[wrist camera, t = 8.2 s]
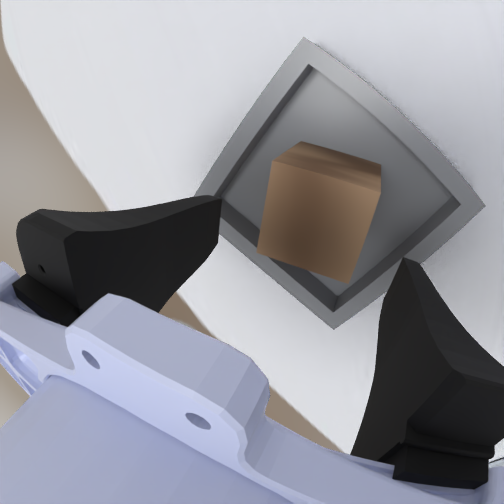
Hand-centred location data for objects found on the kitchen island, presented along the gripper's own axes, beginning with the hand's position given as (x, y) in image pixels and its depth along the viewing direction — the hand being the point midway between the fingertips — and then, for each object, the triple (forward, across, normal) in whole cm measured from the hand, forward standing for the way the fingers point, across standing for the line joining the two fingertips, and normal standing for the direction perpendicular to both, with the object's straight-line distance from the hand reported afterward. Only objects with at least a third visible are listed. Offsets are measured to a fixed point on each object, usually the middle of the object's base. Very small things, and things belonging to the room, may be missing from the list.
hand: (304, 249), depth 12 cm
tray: (+8, 0, 0) cm, 8 cm away
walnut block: (+7, 0, 0) cm, 7 cm away
